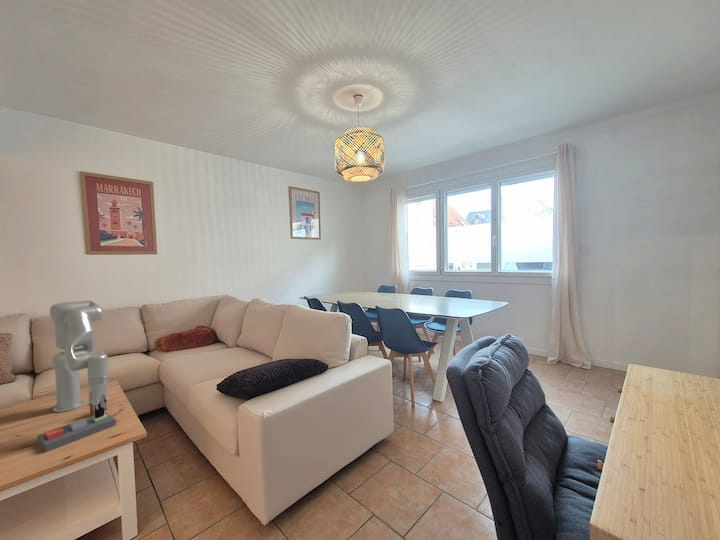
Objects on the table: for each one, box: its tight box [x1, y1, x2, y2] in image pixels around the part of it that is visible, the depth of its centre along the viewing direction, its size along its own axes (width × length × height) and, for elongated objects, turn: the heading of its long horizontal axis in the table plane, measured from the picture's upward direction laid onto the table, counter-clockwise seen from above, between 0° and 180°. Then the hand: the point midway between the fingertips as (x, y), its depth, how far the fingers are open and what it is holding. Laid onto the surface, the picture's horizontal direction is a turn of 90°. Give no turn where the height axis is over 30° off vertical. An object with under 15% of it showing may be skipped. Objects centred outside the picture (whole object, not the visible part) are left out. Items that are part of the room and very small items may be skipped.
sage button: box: [92, 413, 108, 423], centre depth 145 cm, size 5×5×3 cm
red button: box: [44, 426, 64, 440], centre depth 131 cm, size 5×5×3 cm
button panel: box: [36, 411, 117, 453], centre depth 138 cm, size 14×24×3 cm, turn 148°
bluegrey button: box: [69, 418, 87, 431], centre depth 138 cm, size 5×5×3 cm
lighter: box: [88, 401, 108, 417], centre depth 157 cm, size 8×3×10 cm, turn 168°
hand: (99, 416), depth 145 cm, fingers closed
